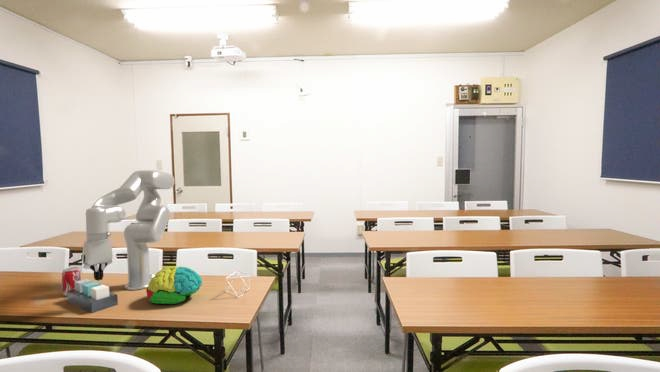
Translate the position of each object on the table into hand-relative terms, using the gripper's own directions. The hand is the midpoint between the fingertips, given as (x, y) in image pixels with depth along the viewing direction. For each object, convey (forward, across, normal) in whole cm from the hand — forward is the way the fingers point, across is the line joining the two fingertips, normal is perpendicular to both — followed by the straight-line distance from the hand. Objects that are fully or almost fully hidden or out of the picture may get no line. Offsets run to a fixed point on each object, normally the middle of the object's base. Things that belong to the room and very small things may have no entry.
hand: (98, 279), depth 146 cm
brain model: (+12, -22, +19) cm, 32 cm away
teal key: (+8, 0, -8) cm, 11 cm away
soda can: (+12, 0, -28) cm, 30 cm away
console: (+12, 0, -8) cm, 14 cm away
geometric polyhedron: (+12, -42, +38) cm, 58 cm away
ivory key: (+9, 0, 0) cm, 9 cm away
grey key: (+8, 0, -15) cm, 17 cm away
